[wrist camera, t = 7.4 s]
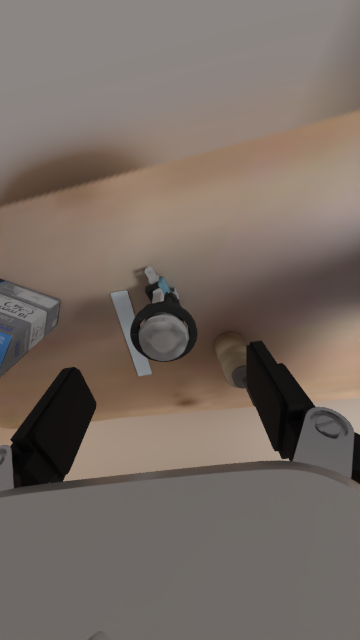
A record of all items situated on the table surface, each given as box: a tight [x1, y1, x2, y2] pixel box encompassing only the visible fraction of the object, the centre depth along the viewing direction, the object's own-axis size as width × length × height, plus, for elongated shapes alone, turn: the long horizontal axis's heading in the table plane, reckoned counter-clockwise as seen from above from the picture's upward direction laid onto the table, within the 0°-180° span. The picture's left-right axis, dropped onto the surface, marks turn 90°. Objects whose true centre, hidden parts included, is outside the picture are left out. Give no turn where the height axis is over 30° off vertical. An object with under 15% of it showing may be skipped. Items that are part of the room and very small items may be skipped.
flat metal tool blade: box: [110, 290, 152, 376], centre depth 26 cm, size 2×13×1 cm, turn 9°
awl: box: [214, 332, 255, 406], centre depth 23 cm, size 4×4×10 cm
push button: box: [130, 266, 197, 362], centre depth 19 cm, size 7×5×10 cm
